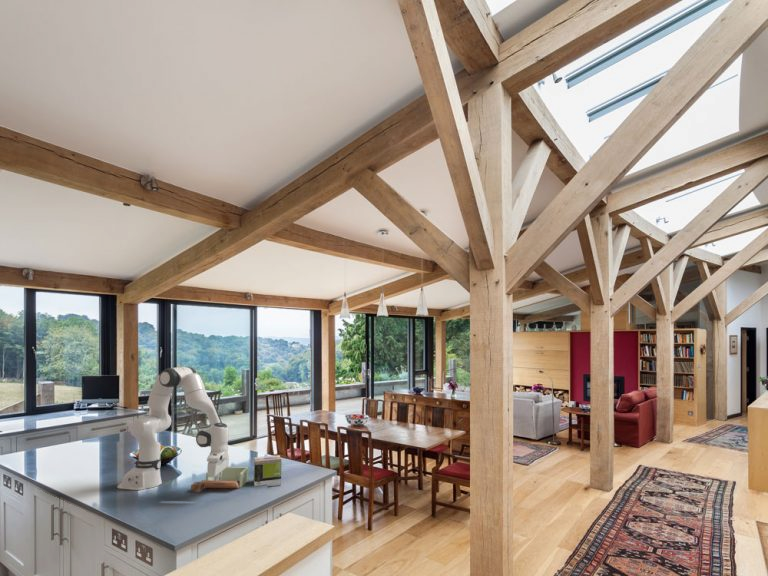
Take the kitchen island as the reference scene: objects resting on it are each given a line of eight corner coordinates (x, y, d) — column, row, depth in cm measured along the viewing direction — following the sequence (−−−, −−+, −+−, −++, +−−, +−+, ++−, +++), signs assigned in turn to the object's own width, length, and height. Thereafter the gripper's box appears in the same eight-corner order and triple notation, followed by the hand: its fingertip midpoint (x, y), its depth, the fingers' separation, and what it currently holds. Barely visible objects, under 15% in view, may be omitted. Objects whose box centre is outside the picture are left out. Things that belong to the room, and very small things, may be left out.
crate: (205, 489, 244) (206, 473, 245) (214, 481, 256) (215, 466, 257) (241, 489, 244) (241, 473, 245) (248, 482, 256) (248, 467, 257)
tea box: (279, 480, 259) (280, 454, 261) (281, 485, 250) (281, 459, 252) (253, 482, 255) (254, 456, 257) (253, 488, 245) (254, 461, 247)
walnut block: (190, 494, 236) (191, 485, 236) (194, 491, 241) (195, 481, 241) (199, 494, 236) (200, 485, 236) (203, 491, 241) (204, 482, 241)
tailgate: (205, 488, 243) (201, 482, 238) (206, 486, 244) (202, 480, 238) (238, 488, 242) (235, 483, 237) (239, 486, 243) (236, 480, 238)
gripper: (221, 449, 249) (220, 474, 247) (205, 459, 228) (204, 486, 227) (232, 449, 249) (231, 474, 247) (217, 459, 228) (216, 487, 227)
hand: (218, 480), depth 237 cm, fingers closed
